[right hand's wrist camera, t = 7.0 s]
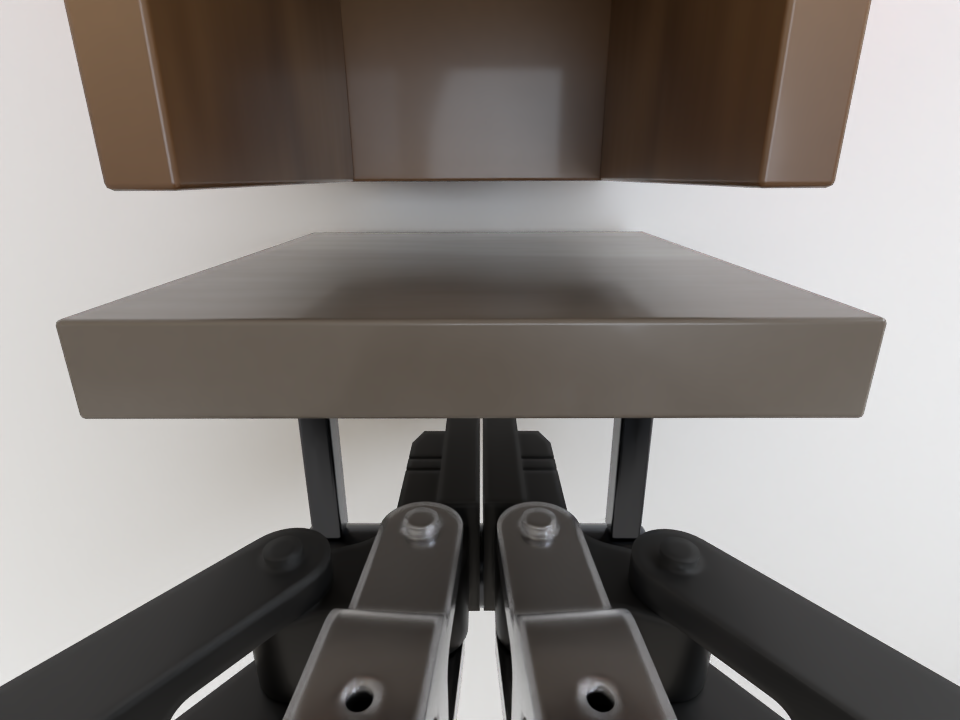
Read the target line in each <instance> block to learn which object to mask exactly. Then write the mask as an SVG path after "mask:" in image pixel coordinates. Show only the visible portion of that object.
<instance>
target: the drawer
mask: <svg viewBox="0 0 960 720" xmlns="http://www.w3.org/2000/svg"><path fill="white" fill-rule="evenodd" d="M64 3H65V8H66V12H67V17H68V21H69V26H70V30H71V35H72V39H73V44H74V48H75V53H76V57H77V62H78V66H79V71H80V75H81V80H82V84H83V89H84V93H85V98H86V102H87V107H88V111H89V116H90V120H91V125H92V129H93V134H94V138H95V143H96V147H97V152H98V156H99V161H100V165H101V170H102V174H103V179H104V183H105V185H106V187H107V188H109V189H112V190H114V191H178V190H198V189H217V188H237V187H256V186H276V185H295V184H315V183H334V182H374V181H598V180H603V181H623V182H644V183H666V184H687V185H708V186H729V187H750V188H826V187H829V186H831V185H833V183H834V181H835V178H836V173H837V168H838V163H839V158H840V153H841V148H842V143H843V138H844V133H845V128H846V123H847V118H848V113H849V108H850V103H851V98H852V93H853V89H854V84H855V79H856V74H857V69H858V64H859V59H860V54H861V49H862V44H863V39H864V34H865V29H866V24H867V19H868V14H869V9H870V4H871V0H64ZM885 327H886V320H885V319H884V318H882V317H879V316H877V315H874V314H871V313H868V312H865V311H863V310H860V309H857V308H854V307H851V306H849V305H846V304H843V303H840V302H838V301H835V300H832V299H829V298H826V297H824V296H821V295H818V294H815V293H812V292H810V291H807V290H804V289H801V288H798V287H796V286H793V285H790V284H787V283H784V282H782V281H779V280H776V279H773V278H770V277H768V276H765V275H762V274H759V273H756V272H754V271H751V270H748V269H745V268H742V267H740V266H737V265H734V264H731V263H728V262H726V261H723V260H720V259H717V258H715V257H712V256H709V255H706V254H703V253H701V252H698V251H695V250H692V249H689V248H687V247H684V246H681V245H678V244H675V243H673V242H670V241H667V240H664V239H661V238H659V237H656V236H653V235H650V234H647V233H645V232H418V233H312V234H309V235H306V236H303V237H300V238H297V239H294V240H291V241H289V242H286V243H283V244H280V245H277V246H274V247H271V248H268V249H265V250H262V251H259V252H256V253H253V254H251V255H248V256H245V257H242V258H239V259H236V260H233V261H230V262H227V263H224V264H221V265H218V266H215V267H212V268H210V269H207V270H204V271H201V272H198V273H195V274H192V275H189V276H186V277H183V278H180V279H177V280H174V281H172V282H169V283H166V284H163V285H160V286H157V287H154V288H151V289H148V290H145V291H142V292H139V293H136V294H133V295H131V296H128V297H125V298H122V299H119V300H116V301H113V302H110V303H107V304H104V305H101V306H98V307H95V308H92V309H90V310H87V311H84V312H81V313H78V314H75V315H72V316H69V317H66V318H63V319H61V320H59V321H57V322H56V328H57V332H58V335H59V339H60V343H61V346H62V350H63V354H64V357H65V361H66V364H67V368H68V372H69V375H70V379H71V383H72V386H73V390H74V394H75V397H76V401H77V405H78V408H79V412H80V415H81V416H82V418H85V419H194V418H298V422H299V430H300V438H301V446H302V453H303V461H304V469H305V477H306V485H307V493H308V500H309V508H310V516H311V524H312V527H311V528H310V529H312V530H315V531H317V532H319V533H321V534H322V535H324V536H325V537H326V538H327V540H328V541H329V544H330V549H336V548H340V547H344V546H349V545H353V544H357V543H360V542H363V541H366V540H369V539H371V538H373V537H375V536H376V535H377V532H378V530H379V527H380V525H381V523H348V518H347V508H346V498H345V488H344V478H343V468H342V458H341V448H340V438H339V428H338V418H614V428H613V439H612V451H611V463H610V474H609V486H608V498H607V509H606V521H605V522H606V523H579V525H580V527H581V530H582V532H583V533H585V534H586V535H588V536H590V537H592V538H594V539H596V540H598V541H601V542H604V543H608V544H612V545H616V546H621V547H625V548H629V549H632V545H633V543H634V541H635V540H636V538H637V537H639V536H640V535H641V534H643V533H645V530H644V529H643V527H642V526H641V523H642V514H643V505H644V496H645V487H646V479H647V470H648V461H649V452H650V443H651V434H652V425H653V418H859V417H862V415H863V414H864V410H865V406H866V402H867V398H868V394H869V391H870V387H871V383H872V379H873V375H874V371H875V367H876V363H877V359H878V355H879V351H880V347H881V343H882V339H883V335H884V331H885ZM480 608H484V573H483V523H480Z"/></svg>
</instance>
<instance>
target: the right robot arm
mask: <svg viewBox="0 0 960 720" xmlns="http://www.w3.org/2000/svg"><path fill="white" fill-rule="evenodd" d="M483 573H484V611H495V622H496V641H495V652H496V661H497V669H498V678H499V687H500V695H501V704H502V712H503V720H785V719H783V718H782V717H781V716H779V715H778V714H777V713H775V712H774V711H773V710H771V709H770V708H769V707H767V706H766V705H765V704H763V703H762V702H761V701H759V700H758V699H757V698H755V697H754V696H753V695H751V694H750V693H749V692H747V691H746V690H745V689H743V688H742V687H741V686H739V685H738V684H737V683H735V682H734V681H733V680H731V679H730V678H729V677H727V676H726V675H725V674H723V673H722V672H721V671H719V670H718V669H717V668H715V667H714V666H713V665H711V664H710V663H709V660H710V655H711V654H713V655H714V656H715V657H717V658H718V659H720V660H721V661H722V662H724V663H725V664H726V665H728V666H729V667H731V668H732V669H733V670H735V671H736V672H737V673H739V674H740V675H741V676H743V677H744V678H746V679H747V680H748V681H750V682H751V683H752V684H754V685H755V686H756V687H758V688H759V689H761V690H762V691H763V692H765V693H766V694H767V695H769V696H770V697H771V698H773V699H774V700H775V701H776V702H777V703H779V704H780V705H781V706H782V708H783V709H784V710H785V711H786V712H787V714H788V715H789V716H790V718H791V720H960V687H959V686H958V685H956V684H954V683H952V682H951V681H949V680H947V679H945V678H944V677H942V676H940V675H939V674H937V673H935V672H933V671H932V670H930V669H928V668H926V667H925V666H923V665H921V664H919V663H918V662H916V661H914V660H912V659H911V658H909V657H907V656H905V655H904V654H902V653H900V652H898V651H897V650H895V649H893V648H891V647H890V646H888V645H886V644H884V643H883V642H881V641H879V640H877V639H876V638H874V637H872V636H870V635H869V634H867V633H865V632H863V631H862V630H860V629H858V628H856V627H855V626H853V625H851V624H849V623H848V622H846V621H844V620H842V619H841V618H839V617H837V616H835V615H834V614H832V613H830V612H828V611H827V610H825V609H823V608H821V607H820V606H818V605H816V604H814V603H813V602H811V601H809V600H807V599H806V598H804V597H802V596H800V595H799V594H797V593H795V592H793V591H792V590H790V589H788V588H786V587H785V586H783V585H781V584H779V583H778V582H776V581H774V580H772V579H771V578H769V577H767V576H765V575H764V574H762V573H760V572H758V571H757V570H755V569H753V568H751V567H750V566H748V565H746V564H744V563H743V562H741V561H739V560H737V559H736V558H734V557H732V556H730V555H729V554H727V553H725V552H723V551H722V550H720V549H718V548H716V547H715V546H713V545H711V544H709V543H708V542H706V541H704V540H702V539H700V538H698V537H696V536H694V535H692V534H689V533H686V532H682V531H678V530H671V529H657V530H651V531H648V532H645V533H643V534H641V535H640V536H639V537H637V538H636V540H635V541H634V543H633V545H632V549H629V548H625V547H621V546H616V545H612V544H608V543H604V542H601V541H598V540H596V539H594V538H592V537H590V536H588V535H586V534H585V533H583V532H582V530H581V527H580V525H579V523H578V521H577V519H576V518H575V517H574V516H573V515H572V514H571V513H570V512H568V511H567V508H566V504H565V500H564V496H563V492H562V488H561V484H560V480H559V476H558V472H557V469H556V464H555V459H554V455H553V451H552V447H551V443H550V442H549V441H548V440H547V439H546V438H545V437H544V436H543V435H542V434H541V433H540V432H539V431H517V423H516V418H483ZM469 611H480V418H447V423H446V431H424V432H423V433H422V434H421V435H420V436H419V437H418V438H417V439H416V440H415V441H414V442H413V443H412V447H411V451H410V456H409V460H408V464H407V471H406V472H405V477H404V481H403V485H402V489H401V494H400V498H399V502H398V506H397V509H395V510H393V511H392V512H390V513H389V514H388V515H387V516H386V517H385V518H384V519H383V521H382V523H381V525H380V527H379V530H378V532H377V535H376V536H375V537H373V538H371V539H369V540H366V541H363V542H360V543H357V544H353V545H349V546H344V547H340V548H336V549H330V544H329V541H328V540H327V538H326V537H325V536H324V535H322V534H321V533H319V532H317V531H315V530H312V529H306V528H289V529H283V530H279V531H276V532H273V533H270V534H267V535H265V536H263V537H261V538H259V539H258V540H256V541H254V542H252V543H251V544H249V545H247V546H245V547H244V548H242V549H240V550H238V551H237V552H235V553H233V554H231V555H230V556H228V557H226V558H224V559H223V560H221V561H219V562H217V563H216V564H214V565H212V566H210V567H209V568H207V569H205V570H203V571H202V572H200V573H198V574H196V575H195V576H193V577H191V578H189V579H188V580H186V581H184V582H182V583H181V584H179V585H177V586H175V587H174V588H172V589H170V590H168V591H167V592H165V593H163V594H161V595H160V596H158V597H156V598H154V599H153V600H151V601H149V602H147V603H146V604H144V605H142V606H140V607H139V608H137V609H135V610H133V611H132V612H130V613H128V614H126V615H125V616H123V617H121V618H119V619H118V620H116V621H114V622H112V623H111V624H109V625H107V626H105V627H104V628H102V629H100V630H98V631H97V632H95V633H93V634H91V635H90V636H88V637H86V638H84V639H83V640H81V641H79V642H77V643H76V644H74V645H72V646H70V647H69V648H67V649H65V650H63V651H62V652H60V653H58V654H56V655H55V656H53V657H51V658H49V659H48V660H46V661H44V662H42V663H41V664H39V665H37V666H36V667H34V668H32V669H30V670H29V671H27V672H25V673H23V674H22V675H20V676H18V677H16V678H15V679H13V680H11V681H9V682H8V683H6V684H4V685H2V686H1V687H0V720H171V718H172V716H173V714H174V713H175V712H176V710H177V709H178V708H179V707H180V705H181V704H182V703H183V702H184V701H185V700H186V699H188V698H189V697H190V696H191V695H193V694H194V693H195V692H197V691H198V690H199V689H201V688H202V687H204V686H205V685H206V684H208V683H209V682H210V681H212V680H213V679H215V678H216V677H217V676H219V675H220V674H221V673H223V672H224V671H225V670H227V669H228V668H230V667H231V666H232V665H234V664H235V663H236V662H238V661H239V660H240V659H242V658H243V657H245V656H246V655H247V654H249V653H250V652H251V651H253V654H254V659H255V660H254V661H253V662H251V663H250V664H249V665H247V666H246V667H245V668H243V669H242V670H241V671H239V672H238V673H237V674H235V675H234V676H233V677H231V678H230V679H229V680H227V681H226V682H225V683H223V684H222V685H221V686H219V687H218V688H217V689H215V690H214V691H213V692H211V693H210V694H209V695H207V696H206V697H205V698H203V699H202V700H201V701H199V702H198V703H197V704H195V705H194V706H193V707H191V708H190V709H189V710H187V711H186V712H185V713H183V714H182V715H181V716H179V717H178V718H177V719H175V720H457V712H458V704H459V695H460V686H461V678H462V669H463V661H464V651H465V641H464V639H465V638H466V635H467V632H468V612H469Z"/></svg>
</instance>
